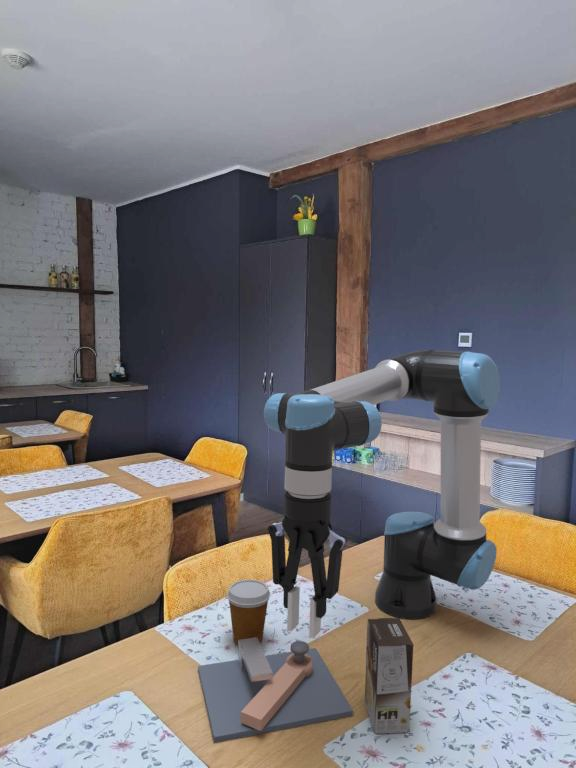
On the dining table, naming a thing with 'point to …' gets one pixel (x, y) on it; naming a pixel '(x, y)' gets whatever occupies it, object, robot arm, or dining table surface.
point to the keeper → (253, 660)
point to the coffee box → (388, 675)
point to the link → (278, 687)
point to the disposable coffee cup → (248, 608)
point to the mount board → (235, 690)
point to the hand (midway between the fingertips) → (303, 630)
